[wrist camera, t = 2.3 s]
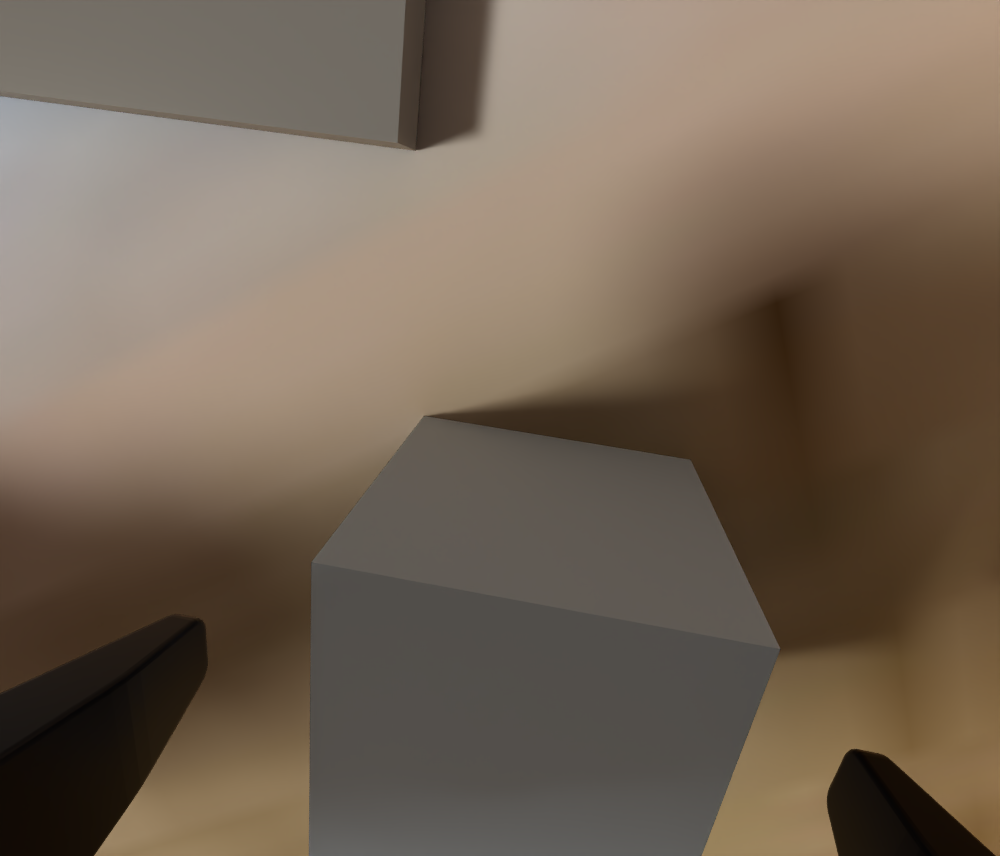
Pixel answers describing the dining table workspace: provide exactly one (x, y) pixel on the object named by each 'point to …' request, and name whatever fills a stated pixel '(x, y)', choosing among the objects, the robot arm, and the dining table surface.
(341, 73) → the tower base
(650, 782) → the slate-gray cube
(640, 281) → the dining table surface
